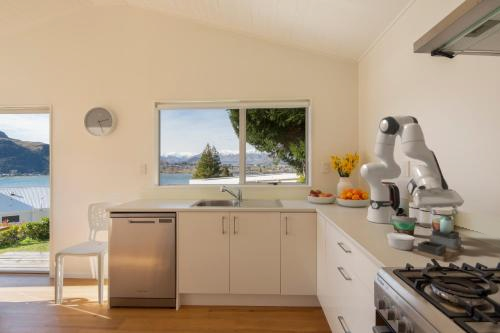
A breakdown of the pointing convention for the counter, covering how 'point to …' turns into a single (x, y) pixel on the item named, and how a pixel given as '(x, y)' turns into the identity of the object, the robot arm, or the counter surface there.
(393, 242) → the ramekin
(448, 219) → the teal cylinder
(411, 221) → the food container
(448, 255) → the dock station
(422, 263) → the counter surface
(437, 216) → the coffee cup
